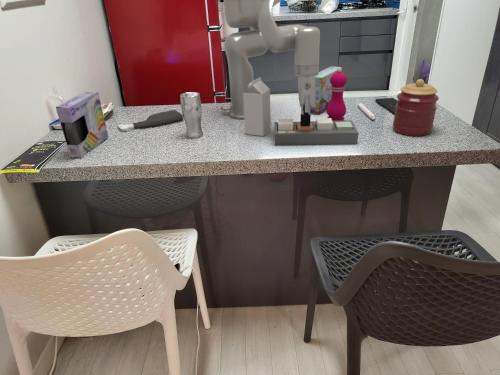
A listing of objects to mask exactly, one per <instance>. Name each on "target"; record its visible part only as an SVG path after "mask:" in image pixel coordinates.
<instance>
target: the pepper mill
mask: <svg viewBox="0 0 500 375" xmlns="http://www.w3.org/2000/svg"><path fill="white" fill-rule="evenodd" d="M342 70H343V68H342V69H341V68H338V69H337V72H336V73H334V74H332V75H331V77H330V83H331V84H332V86H331V91H332V98H331V101H330V103H329V104H328V107H327V110H325V112H326V114H327V115H328V116H327V118H331V119H332V121H345V115H346V114H347V106H346V104H345V102H344V91H345V90H346V89H345V88H346V86H345V85H346V84H347V82H348V77H347V75H346V74H345V73H344V72H343V71H342ZM341 71H342V72H341Z"/></svg>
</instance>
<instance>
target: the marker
mask: <svg viewBox="0 0 500 375" xmlns="http://www.w3.org/2000/svg"><path fill="white" fill-rule="evenodd" d="M357 108H358V109H359V110H360V112H362V113H363V114H364V115H366V117H367V118H368V119H370V120H371V121H375V119H376V116H375V114H373V112H372V111H370V110H369V109H368V107H366V106H365V105H364V104H363V103H362V102H359V103H357Z"/></svg>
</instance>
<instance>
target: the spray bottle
mask: <svg viewBox="0 0 500 375" xmlns="http://www.w3.org/2000/svg"><path fill="white" fill-rule="evenodd" d="M183 121H184V117H183V113H182V112H181V113H180V112H179V111H177V110H175V109H171V110H167V111H162V112H156V113H153V114H151V115H149V116H148V117H147V118H146V119H145V120H141V121H137V122H132V123H131V122H130V123H126V124H117V127H118V129H119V130H120V131H121V132H124V131H127V132H129V131H131V130H130V129H132V130H137V129H138V128H140V129H150V128H149V127H152V128H157V126H158V127H163V125H164V126H168V125H172V124H175V123H176V124H177V123H179V122H183ZM134 128H135V129H134Z"/></svg>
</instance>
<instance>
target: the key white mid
mask: <svg viewBox="0 0 500 375" xmlns="http://www.w3.org/2000/svg"><path fill="white" fill-rule="evenodd" d="M315 121H316V130H333V122H332V119H331V118H328V117H325V118H324V117H323V118H315Z"/></svg>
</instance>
